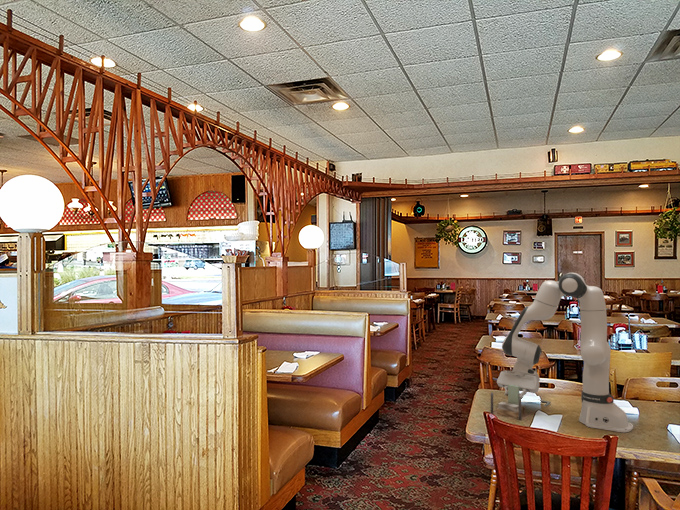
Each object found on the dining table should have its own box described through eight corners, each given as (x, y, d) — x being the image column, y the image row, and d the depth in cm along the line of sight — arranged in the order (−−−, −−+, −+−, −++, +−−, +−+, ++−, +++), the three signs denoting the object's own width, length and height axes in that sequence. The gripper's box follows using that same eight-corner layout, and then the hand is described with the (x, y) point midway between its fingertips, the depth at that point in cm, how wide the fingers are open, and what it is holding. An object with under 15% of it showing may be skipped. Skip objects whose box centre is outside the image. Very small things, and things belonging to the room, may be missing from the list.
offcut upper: (519, 410, 248) (519, 405, 248) (516, 412, 245) (516, 407, 245) (501, 406, 254) (501, 401, 254) (498, 408, 251) (498, 403, 251)
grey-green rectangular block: (519, 412, 253) (519, 386, 253) (517, 413, 252) (518, 386, 251) (509, 410, 256) (509, 384, 256) (508, 411, 255) (508, 385, 255)
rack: (531, 417, 250) (531, 393, 250) (521, 423, 241) (521, 399, 241) (500, 410, 261) (500, 387, 261) (489, 416, 252) (489, 392, 252)
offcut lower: (520, 415, 248) (520, 410, 248) (516, 418, 245) (516, 412, 245) (501, 411, 255) (501, 406, 255) (496, 413, 251) (496, 408, 251)
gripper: (499, 366, 266) (491, 388, 259) (539, 372, 252) (531, 396, 245) (503, 373, 269) (495, 395, 262) (543, 379, 255) (535, 404, 248)
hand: (513, 396), depth 253 cm, fingers open, 5 cm apart
